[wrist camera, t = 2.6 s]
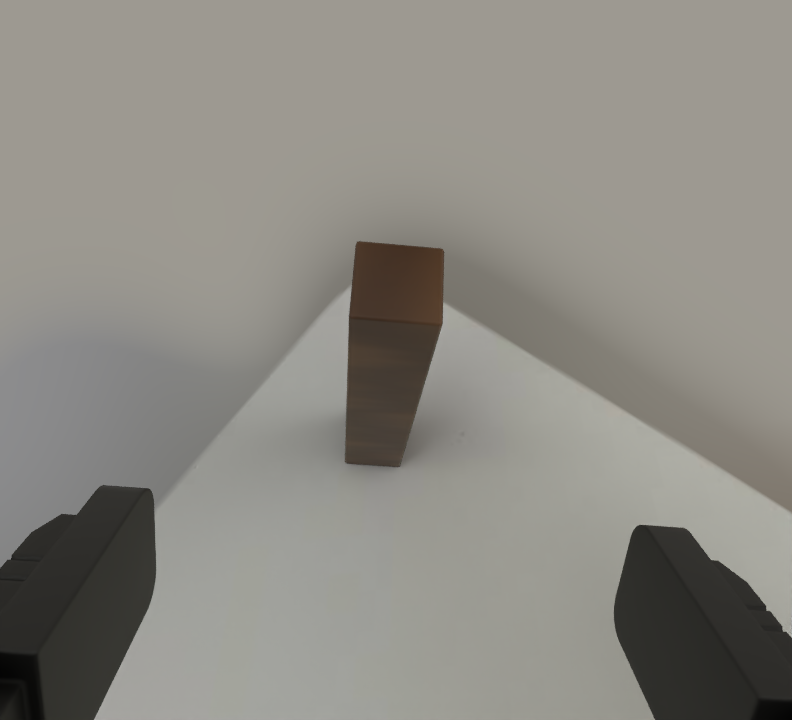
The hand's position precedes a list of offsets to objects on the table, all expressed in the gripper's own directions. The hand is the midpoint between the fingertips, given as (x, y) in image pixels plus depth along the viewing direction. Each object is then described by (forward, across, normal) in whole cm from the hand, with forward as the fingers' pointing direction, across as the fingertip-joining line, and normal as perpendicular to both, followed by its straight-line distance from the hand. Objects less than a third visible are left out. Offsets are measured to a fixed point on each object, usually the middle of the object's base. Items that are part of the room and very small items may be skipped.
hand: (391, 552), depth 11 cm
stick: (+17, 0, +6) cm, 18 cm away
